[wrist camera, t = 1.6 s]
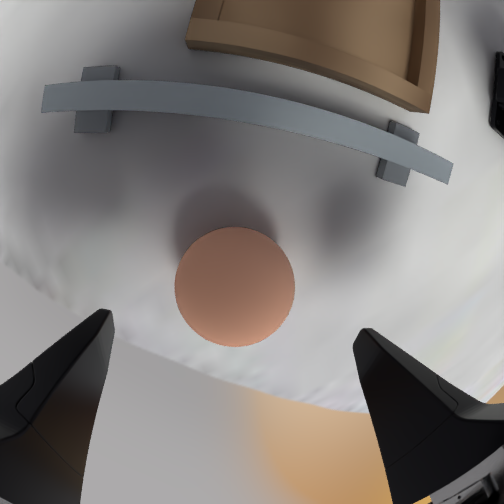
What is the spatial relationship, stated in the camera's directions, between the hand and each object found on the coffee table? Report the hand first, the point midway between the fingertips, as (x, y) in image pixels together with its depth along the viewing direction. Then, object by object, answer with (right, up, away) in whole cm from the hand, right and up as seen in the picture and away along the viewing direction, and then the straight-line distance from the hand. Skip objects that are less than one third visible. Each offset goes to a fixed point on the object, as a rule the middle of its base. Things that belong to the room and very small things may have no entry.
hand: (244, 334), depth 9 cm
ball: (-1, +2, +5) cm, 5 cm away
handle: (+1, +9, +2) cm, 9 cm away
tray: (+4, +15, -1) cm, 16 cm away
